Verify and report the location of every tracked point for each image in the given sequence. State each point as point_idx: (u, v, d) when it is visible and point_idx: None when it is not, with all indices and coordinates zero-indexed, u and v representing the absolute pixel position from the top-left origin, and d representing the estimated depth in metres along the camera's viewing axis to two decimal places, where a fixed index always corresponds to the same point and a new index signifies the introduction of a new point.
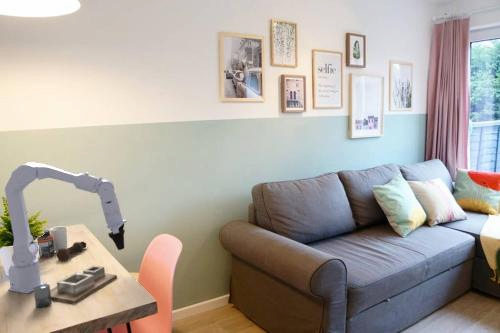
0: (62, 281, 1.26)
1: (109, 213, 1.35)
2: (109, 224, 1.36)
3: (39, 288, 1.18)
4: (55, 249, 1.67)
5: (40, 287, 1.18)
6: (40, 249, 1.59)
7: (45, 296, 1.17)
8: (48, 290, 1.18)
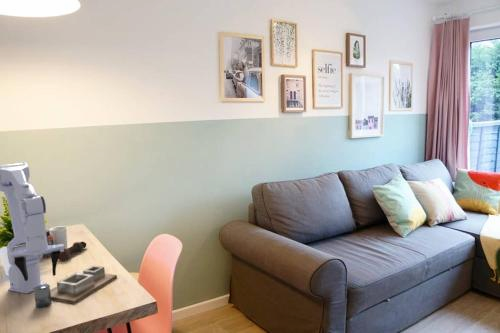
0: (62, 281, 1.26)
1: (25, 236, 1.15)
2: None
3: (39, 288, 1.18)
4: None
5: (40, 287, 1.18)
6: None
7: (45, 296, 1.17)
8: (48, 290, 1.18)
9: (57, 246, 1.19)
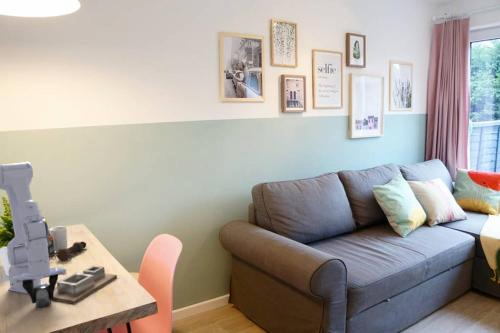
0: (62, 281, 1.26)
1: (27, 260, 1.16)
2: None
3: (39, 288, 1.18)
4: (55, 249, 1.67)
5: (40, 287, 1.18)
6: None
7: (45, 296, 1.17)
8: (48, 290, 1.18)
9: (59, 269, 1.20)
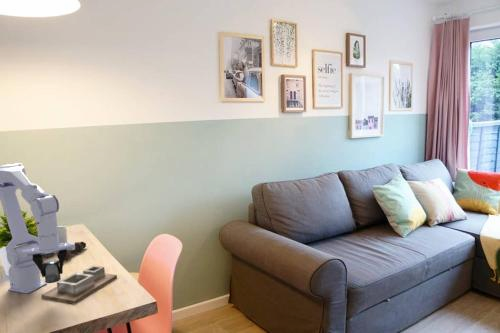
0: (62, 281, 1.26)
1: None
2: None
3: (48, 263, 1.20)
4: None
5: (49, 262, 1.20)
6: None
7: (54, 271, 1.19)
8: (57, 265, 1.20)
9: (68, 244, 1.22)
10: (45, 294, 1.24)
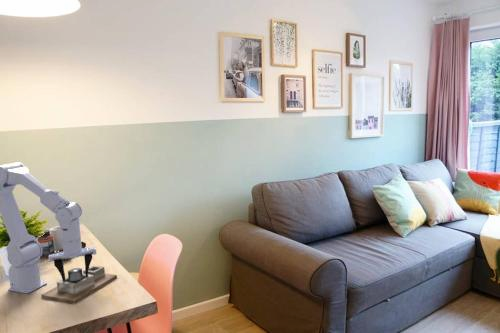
0: (62, 281, 1.26)
1: (64, 241, 1.24)
2: None
3: (72, 271, 1.27)
4: (55, 249, 1.67)
5: (73, 270, 1.28)
6: None
7: (77, 279, 1.26)
8: (80, 273, 1.27)
9: (90, 249, 1.29)
10: (45, 294, 1.24)
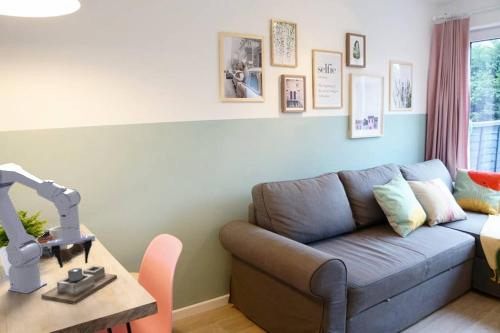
0: (62, 281, 1.26)
1: (62, 227, 1.23)
2: None
3: (72, 271, 1.27)
4: None
5: (73, 270, 1.28)
6: None
7: (77, 279, 1.26)
8: (80, 273, 1.27)
9: (89, 236, 1.29)
10: (45, 294, 1.24)
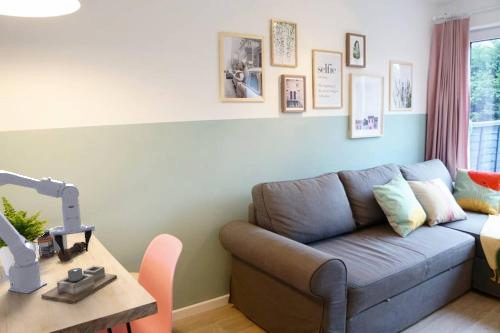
0: (62, 281, 1.26)
1: (69, 218, 1.34)
2: None
3: (72, 271, 1.27)
4: (55, 249, 1.67)
5: (73, 270, 1.28)
6: (40, 249, 1.59)
7: (77, 279, 1.26)
8: (80, 273, 1.27)
9: (89, 226, 1.39)
10: (45, 294, 1.24)
